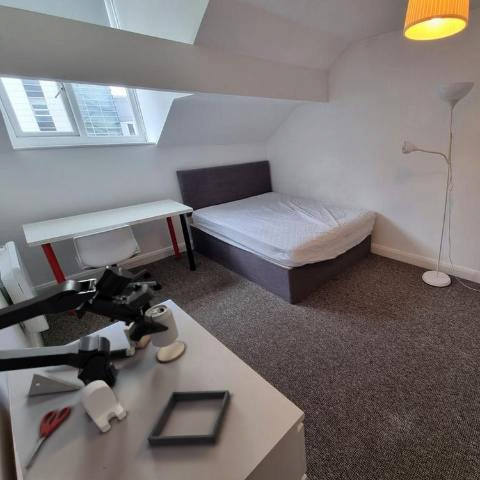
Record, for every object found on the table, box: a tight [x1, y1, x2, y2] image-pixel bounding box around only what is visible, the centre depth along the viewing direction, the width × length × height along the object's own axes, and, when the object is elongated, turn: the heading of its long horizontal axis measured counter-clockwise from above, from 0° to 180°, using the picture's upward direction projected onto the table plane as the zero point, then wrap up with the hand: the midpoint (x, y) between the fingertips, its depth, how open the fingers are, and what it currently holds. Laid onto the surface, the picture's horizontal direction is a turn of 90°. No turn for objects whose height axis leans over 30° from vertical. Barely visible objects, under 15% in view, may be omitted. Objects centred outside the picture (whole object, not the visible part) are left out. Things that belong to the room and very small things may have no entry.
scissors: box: [23, 406, 72, 469], centre depth 65 cm, size 5×14×1 cm, turn 17°
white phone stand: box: [79, 380, 127, 433], centre depth 68 cm, size 5×10×10 cm, turn 58°
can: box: [145, 304, 180, 348], centre depth 84 cm, size 8×8×12 cm
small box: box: [123, 322, 151, 349], centre depth 91 cm, size 5×4×8 cm
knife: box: [60, 347, 136, 367], centre depth 86 cm, size 26×2×5 cm
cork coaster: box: [156, 341, 186, 363], centre depth 88 cm, size 8×8×1 cm
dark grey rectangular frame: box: [147, 389, 231, 447], centre depth 67 cm, size 15×12×2 cm
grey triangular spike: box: [27, 372, 80, 396], centre depth 79 cm, size 6×5×13 cm
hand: (166, 322), depth 84 cm, fingers closed on can, 7 cm apart
